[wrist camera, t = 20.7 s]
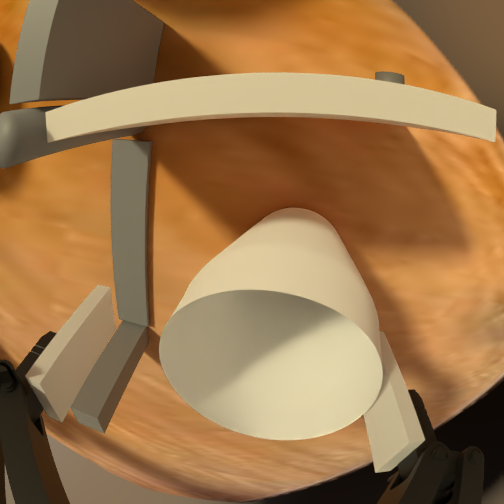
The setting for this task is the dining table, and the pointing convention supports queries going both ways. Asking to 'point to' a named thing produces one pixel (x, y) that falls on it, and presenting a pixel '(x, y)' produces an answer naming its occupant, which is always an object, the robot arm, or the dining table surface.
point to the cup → (277, 333)
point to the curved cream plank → (274, 104)
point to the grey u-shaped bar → (123, 151)
